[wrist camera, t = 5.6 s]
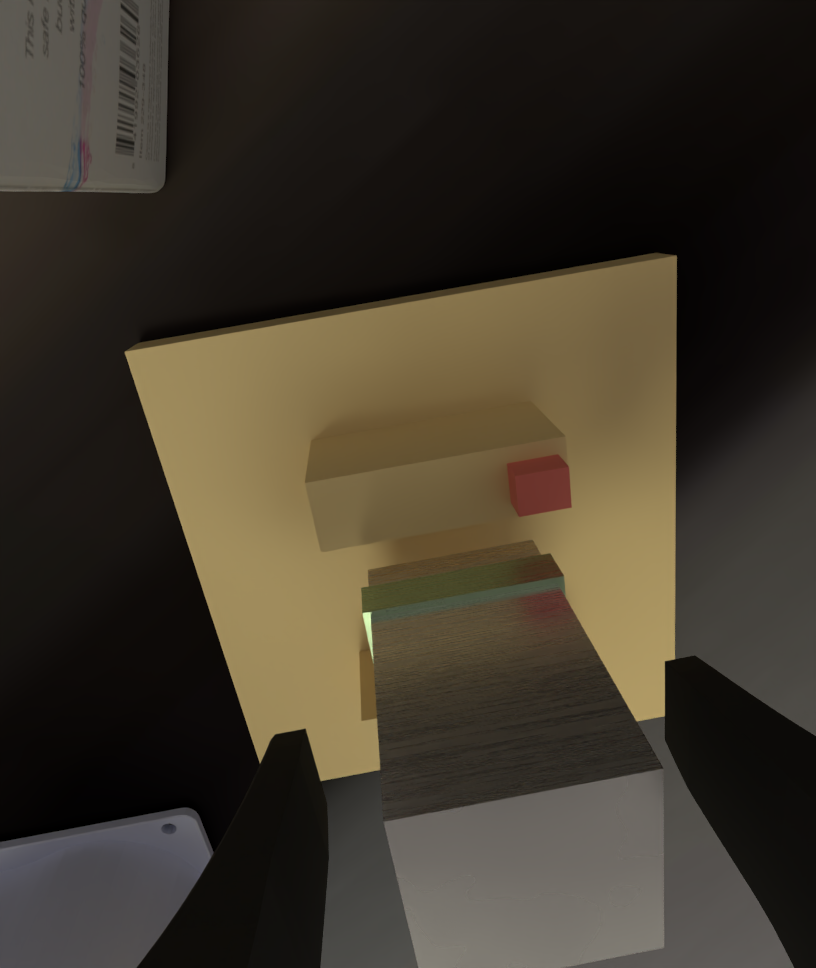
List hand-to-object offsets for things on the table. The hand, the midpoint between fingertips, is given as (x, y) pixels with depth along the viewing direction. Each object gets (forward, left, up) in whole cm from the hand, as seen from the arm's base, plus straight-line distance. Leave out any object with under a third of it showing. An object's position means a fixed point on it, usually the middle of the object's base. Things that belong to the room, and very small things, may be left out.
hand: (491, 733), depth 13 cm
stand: (0, 0, -8) cm, 8 cm away
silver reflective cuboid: (0, 0, -4) cm, 4 cm away
